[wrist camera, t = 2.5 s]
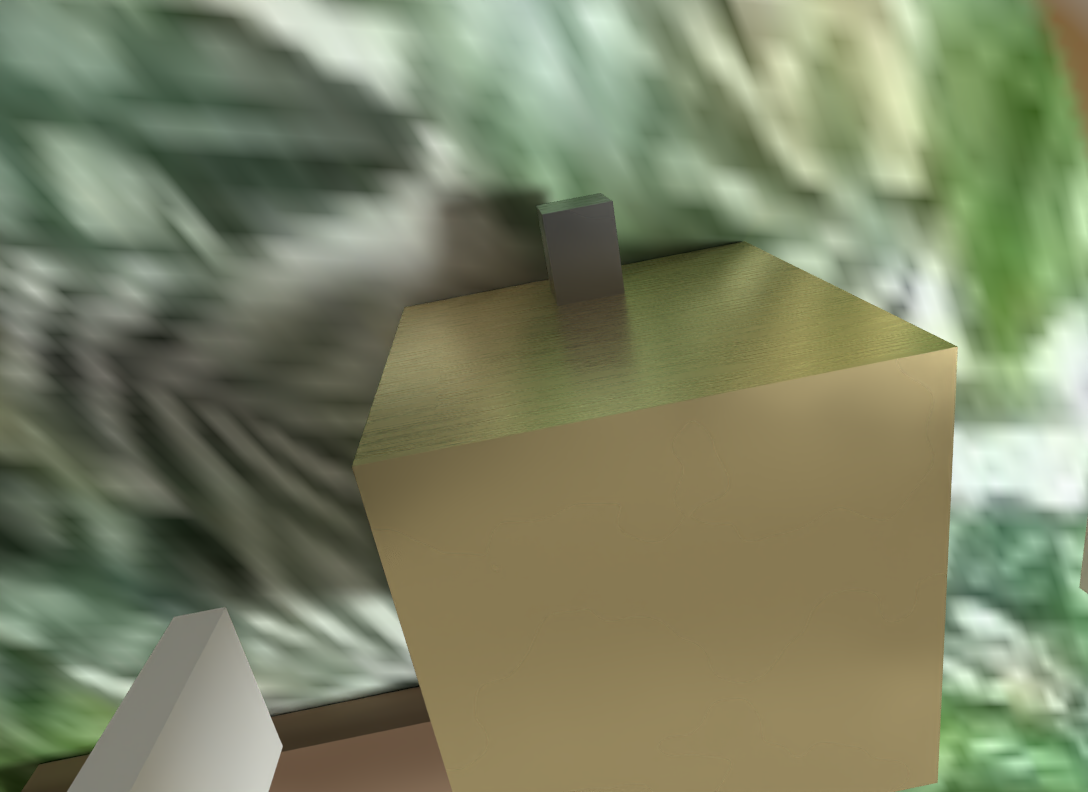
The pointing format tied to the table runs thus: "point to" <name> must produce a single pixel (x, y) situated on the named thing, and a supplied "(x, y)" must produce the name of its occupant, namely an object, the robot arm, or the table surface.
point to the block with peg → (667, 524)
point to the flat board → (333, 750)
